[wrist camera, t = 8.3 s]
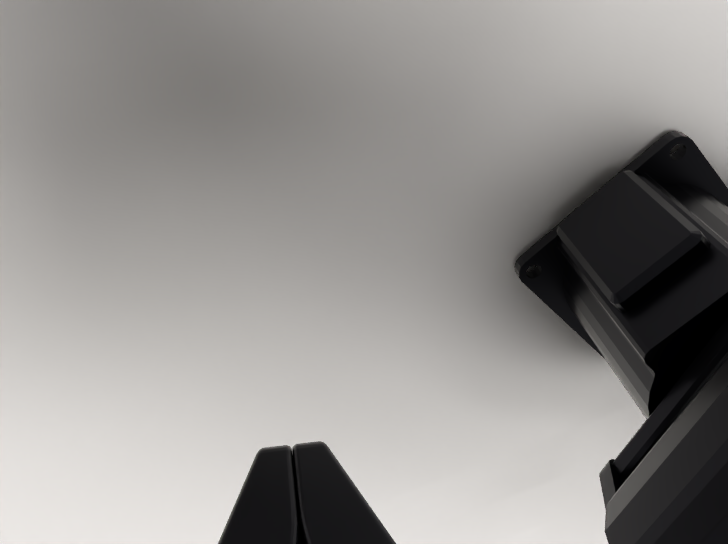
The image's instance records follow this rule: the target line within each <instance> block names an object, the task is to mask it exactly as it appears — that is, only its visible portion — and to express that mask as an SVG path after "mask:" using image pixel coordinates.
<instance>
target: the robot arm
mask: <svg viewBox="0 0 728 544" xmlns="http://www.w3.org/2000/svg"><path fill="white" fill-rule="evenodd" d="M677 144H679V148H678V150H677V151H676V152H675V153H673V154H671V155H670V151H671V149H672V148H673V147H674V146H676V145H677ZM532 265H537V266H536V268H535V269H534V270H532V271H528V272H526V271H527V269H528V268H529V267H530V266H532ZM515 271H516V273H517V275H518V276H519V278H520V279H521V281H522V282H523V283H524V284H525V285H526V286H527V287H528V288H529V289H530V290H531V291H533V292H534V293H535V294H536V295H537V296H538V297H539V298H540V299H541V300H542V301H543V302H544V303H545V304H547V305H548V306H549V307H550V308H551V309H552V310H553V311H554V312H555V313H556V314H557V315H558V316H559V317H560V318H562V319H563V320H564V321H565V322H566V323H567V324H568V325H569V326H570V327H571V328H572V329H573V330H574V331H576V332H577V333H578V334H579V335H580V336H581V337H582V338H583V339H584V340H585V341H586V342H587V343H588V344H589V345H591V346H592V347H593V348H594V349H595V350H596V351H597V352H598V353H599V354H600V355H601V356H602V357H603V358H605V359H606V361H607V362H608V364H609V365H610V367H611V368H612V369H613V371H614V372H615V374H616V375H617V377H618V378H619V380H620V381H621V383H622V384H623V385H624V387H625V388H626V390H627V391H628V393H629V394H630V396H631V397H632V398H633V400H634V401H635V403H636V404H637V406H638V407H639V409H640V410H641V412H642V413H643V414H644V416H645V417H646V419H647V420H646V421H645V423H644V424H643V425H642V426H641V428H640V429H639V430H638V431H637V433H636V434H635V435H634V436H633V438H632V439H631V440H630V441H629V443H628V444H627V445H626V447H625V448H624V449H623V450H622V452H621V453H620V454H619V455H618V457H617V458H616V459H615V460H614V459H611V460H610V461H609V462H608V463H607V464H606V466H605V467H604V468H603V469H602V471H601V472H600V475H599V476H600V481H601V487H602V492H603V497H604V503H605V508H606V519H605V533H606V536H607V540H608V543H609V544H728V188H727V187H726V186H725V184H724V183H723V181H722V180H721V179H720V177H719V176H718V175H717V173H716V172H715V171H714V169H713V168H712V166H711V165H710V164H709V162H708V161H707V160H706V158H705V157H704V155H703V154H702V153H701V151H700V150H699V149H698V147H697V146H696V145H695V143H694V142H693V140H691V139H690V138H689V137H688V136H686V135H685V134H683V133H682V132H678V131H673V132H669V133H667V134H666V135H664V136H663V137H662V138H660V139H659V140H658V141H657V142H656V143H654V144H653V145H652V146H651V147H650V148H649V149H647V150H646V151H645V152H644V153H643V154H641V155H640V156H639V157H638V158H637V159H635V160H634V161H633V162H632V163H631V164H630V165H628V166H627V167H626V168H625V169H624V170H622V171H621V172H619V173H618V174H617V175H616V176H615V177H613V178H612V179H611V180H610V181H609V182H607V183H606V184H605V185H604V186H603V187H602V188H600V189H599V190H598V191H597V192H596V193H594V194H593V195H592V196H591V197H590V198H589V199H587V200H586V201H585V202H584V203H583V204H581V205H580V206H579V207H578V208H577V209H575V210H574V211H573V212H572V213H571V214H570V215H568V216H567V217H566V218H565V219H564V220H562V221H561V222H560V223H559V224H558V225H557V226H556V227H555V228H554V229H552V230H551V231H550V232H549V233H548V234H546V235H545V236H544V237H543V238H542V239H541V240H539V241H538V242H537V243H536V244H535V245H533V246H532V247H531V248H530V249H529V250H528V251H526V252H525V253H524V254H523V255H522V256H520V258H519V259H518V260H517V261H516V264H515ZM292 453H293V455H292ZM218 544H396V543H395V541H394V540H393V539H392V537H391V536H390V534H389V533H388V532H387V530H386V529H385V527H384V526H383V524H382V523H381V522H380V520H379V519H378V517H377V516H376V514H375V513H374V512H373V510H372V509H371V507H370V506H369V504H368V503H367V502H366V500H365V499H364V497H363V496H362V494H361V493H360V492H359V490H358V489H357V487H356V486H355V485H354V483H353V482H352V480H351V479H350V477H349V476H348V475H347V473H346V472H345V470H344V469H343V467H342V466H341V465H340V463H339V462H338V460H337V459H336V457H335V456H334V455H333V453H332V452H331V450H330V449H329V447H328V446H327V445H326V444H325V443H323V442H310V443H301V444H296V445H295V446H294V447H293V450H292V449H291V448H290V447H289V446H287V445H284V446H275V447H267V448H262V449H260V450H259V451H258V453H257V454H256V457H255V459H254V461H253V464H252V466H251V468H250V471H249V473H248V475H247V477H246V480H245V482H244V484H243V487H242V489H241V491H240V494H239V496H238V498H237V501H236V503H235V505H234V508H233V510H232V512H231V515H230V517H229V519H228V522H227V524H226V526H225V529H224V531H223V533H222V536H221V538H220V540H219V542H218Z"/></svg>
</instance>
